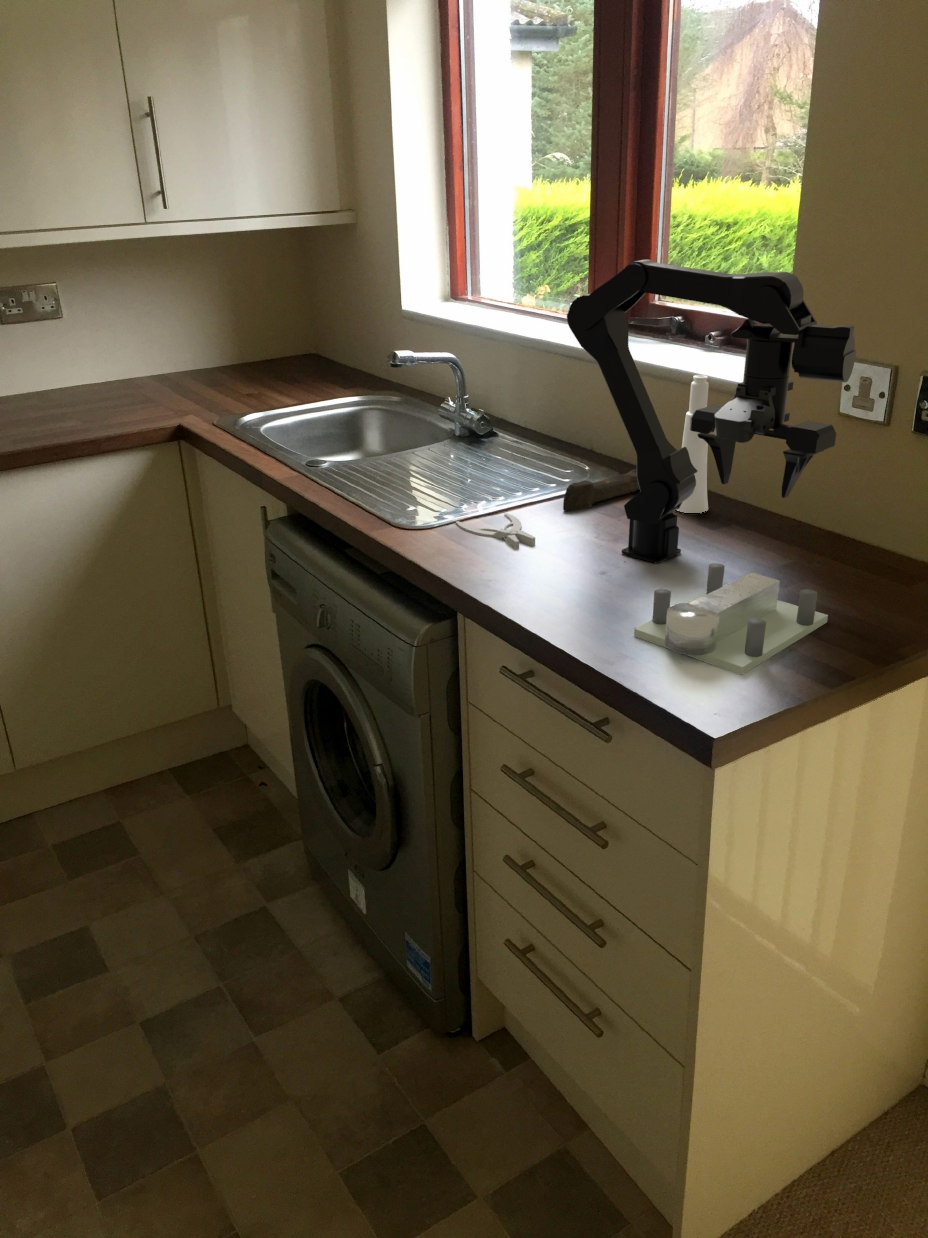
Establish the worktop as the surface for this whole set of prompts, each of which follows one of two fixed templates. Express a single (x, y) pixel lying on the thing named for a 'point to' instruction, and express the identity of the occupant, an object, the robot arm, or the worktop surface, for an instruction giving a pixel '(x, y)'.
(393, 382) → the worktop surface
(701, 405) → the cosmetic bottle
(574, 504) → the hand tool
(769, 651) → the peg board
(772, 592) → the round-ended glossy bar
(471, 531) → the pliers
